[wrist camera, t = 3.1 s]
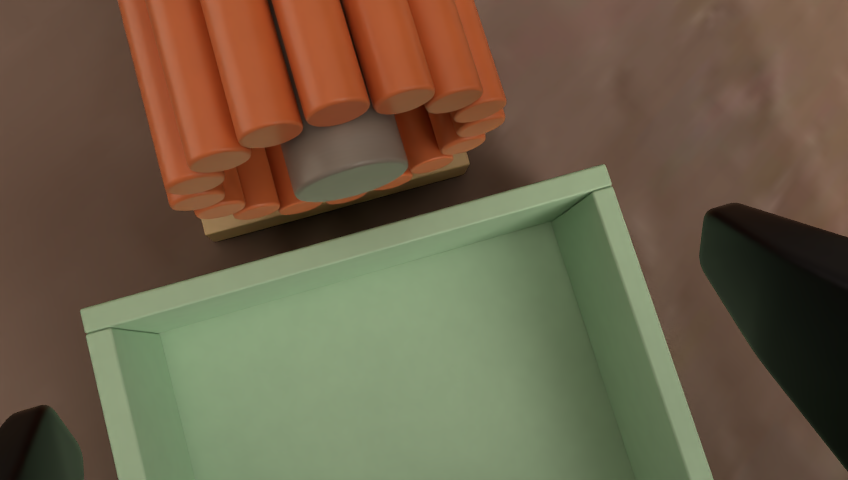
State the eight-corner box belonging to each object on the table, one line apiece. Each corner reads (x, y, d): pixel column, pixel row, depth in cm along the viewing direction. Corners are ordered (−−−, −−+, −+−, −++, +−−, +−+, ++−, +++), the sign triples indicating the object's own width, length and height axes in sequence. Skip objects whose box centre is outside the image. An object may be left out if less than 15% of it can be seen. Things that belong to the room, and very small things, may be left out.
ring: (479, 167, 17) (549, 48, 10) (209, 240, 16) (106, 161, 10) (424, -6, 17) (458, -217, 11) (162, 56, 17) (36, -135, 10)
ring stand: (481, 226, 22) (646, 42, 9) (228, 298, 21) (14, 203, 8) (404, -17, 23) (455, -485, 10) (161, 39, 22) (-118, -402, 9)
